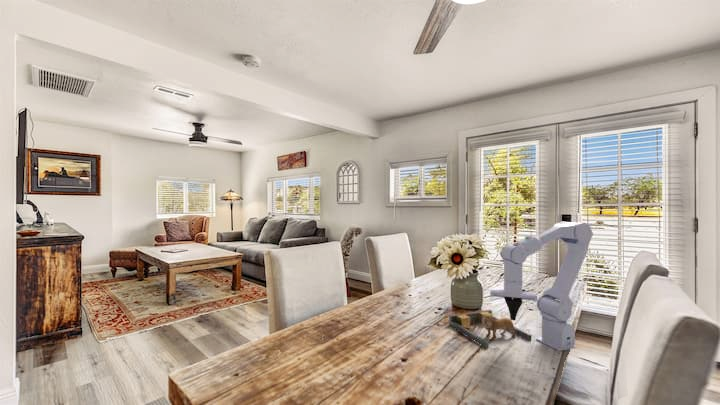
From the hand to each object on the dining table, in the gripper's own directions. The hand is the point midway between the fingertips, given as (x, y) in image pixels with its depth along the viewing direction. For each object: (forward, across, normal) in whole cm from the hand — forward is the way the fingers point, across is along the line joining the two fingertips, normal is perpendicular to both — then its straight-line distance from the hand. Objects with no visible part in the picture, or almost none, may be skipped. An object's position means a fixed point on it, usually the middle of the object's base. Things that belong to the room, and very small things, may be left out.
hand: (512, 319), depth 105 cm
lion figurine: (+10, +4, -6) cm, 12 cm away
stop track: (+9, +8, -9) cm, 15 cm away
